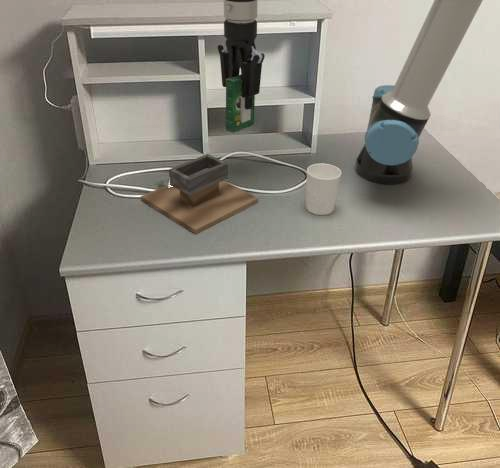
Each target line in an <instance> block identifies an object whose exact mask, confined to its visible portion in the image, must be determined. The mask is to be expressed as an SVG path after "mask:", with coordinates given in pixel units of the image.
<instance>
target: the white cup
mask: <svg viewBox="0 0 500 468" xmlns="http://www.w3.org/2000/svg"><path fill="white" fill-rule="evenodd" d="M341 179H342V170H341V169H340V168H339V167H337V166H336V165H334V164H328V163H313V164H311V165H309V166H308V167H307V168H306V184H305V186H306V187H305V197H306V198H305V200H306V201H305V208H306V211H308V212H309V213H311V214H314V215H317V216H326V215H330V214H332V213H333V211H335V205H336V202H337V197H338V193H339V187H340V182H341Z"/></svg>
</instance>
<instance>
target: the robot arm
mask: <svg viewBox="0 0 500 468" xmlns="http://www.w3.org/2000/svg"><path fill="white" fill-rule="evenodd" d="M482 3H483V0H433V3H432V5H431V7H430V9H429V11H428V13H427V15H426V17H425V20H424V22H423V23H422V26H421V28H420V31H419V32H418V34H417V37H416V39H415V41H414V43H413V45H412V47H411V49H410V52H409V53H408V56H407V57H406V58H407V59H406V60H405V63H404V65H403V66H402V70H401V71H400V73H399V76H398V78H397V79H396V82H395V84H394V85H392V84H391V85H389V84H388V85H387V84H386V85H380V86H377V87H376V88H375V89H374V91H373V96H372V97H371V98H372V103H371V109H370V114H369V119H368V124H367V128H366V132H365V135H364V144H363V147H362V148H361V149H360V152H359V154H358V155H357V157H356V160H355V164H354V165H355V166H354V168H355V172H356V174H358V175H359V176H360V177H362V178H363V179H365V180H368V181H371V182H374V183H376V184H377V183H378V184H384V185H396V184H401V183H405V182H407V181H408V180H410V179H411V177H412V174H413V168H414V167H413V166H414V165H413V159H412V158H413V156H414V155H415V154H416V152H417V150H418V147H419V142H420V136H421V134H422V132H423V130H424V129H425V127H426V125H427V123H428V121H429V119H430V117H431V112H430V109H429V105H430V103H431V100H432V99H433V97H434V95H435V93H436V91H437V89H438V87H439V85H440V83H441V81H442V80H443V78H444V76H445V73H446V72H447V70H448V69H449V66H450V64H451V62H452V60H453V58H454V57H455V55H456V52H457V51H458V49H459V47H460V45H461V43H462V41H463V39H464V37H465V35H466V33H467V32H468V30H469V27H470V26H471V23H472V22H473V20H474V18H475V16H476V14H477V13H478V11H479V8H480V7H481V5H482ZM223 17H224V19H225V20H224V21H223V36H224V38H225V39H226V40H225V43H222V44H218V45H217V50H218V54H219V60H220V61H219V62H220V72H221V86H222V87H223V88H226V79H227V78H231V77H234V76H238V75H241V76H242V86H243V95H241V122H246V121H248V120H251V108H252V97H253V95H255V96H256V95H258V94H260V92H261V91H260V89H261V79H262V68H263V62H264V60H265V54H264V53H261V52H259V51H257V46H256V43H255V40H256V38H257V36H258V21H257V20H256V19H257V18H258V0H223ZM248 90H249V91H248Z"/></svg>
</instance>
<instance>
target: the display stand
mask: <svg viewBox="0 0 500 468" xmlns="http://www.w3.org/2000/svg"><path fill="white" fill-rule="evenodd" d="M228 169H229V163H228V162H226V161H223V160H221V159H219V158H217V157H215V156H213V155H211V154H210V153H207V154H204V155H201V156H200V157H199V156H198V157H197V158H194V159H192V160H189V161H187V162H183V163H182V164H178V165H177V166H173V167H171V168H169V169H168V175H169V184H170V185H171V186H173V187H170V188H168V185H169V184H167V185H164V186H162V187H159V188H157V189H154V190H153V191H150V192H148V193H145V194H143V195H141V196H140V201H141V202H143V203H144V204H146V205H148V206H150V207H151V208H153V209H154V210H156V211H157V212H159V213H161V214H163V215H164V216H165V217H167V218H169V219H170V220H172V221H174V223H175V222H176V223H177V224H178V225H180V226H182V227H184V228H185V229H186V230H188V231H189V232H191V233H192V234H195V235H198V234H199V233H201V232H203V231H205V230H208V229H209V228H210V227H213V226H215V225H217V224H220V223H221V222H223V221H224V220H227V219H228V218H230V217H232V216H234V215H236V214H238V213H241V212H242V211H245V210H246V209H248V208H250V207H253V206H254V205H256V204H258V203H259V198H258V197H257V196H255V195H253V194H251V193H249V192H247V191H245V190H243V189H241V188H239V187H237V186H235V185H233V184H232V183H229V182H228V181H225V180H227V179H228V178H229V177H228V174H229V170H228Z"/></svg>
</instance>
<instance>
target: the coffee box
mask: <svg viewBox="0 0 500 468" xmlns="http://www.w3.org/2000/svg"><path fill="white" fill-rule="evenodd" d="M248 91H249V90H248ZM241 95H243V86H242V76H241V74H239V75H238V76H234V77H231V78H227V79H226V87H225V131H226V132H229V133H232V134H233V133H236V132H240V130H243V129H246V128H250V127H251V126H254V125H255V106H256V105H255V102H256V101H255V99H256V97H255V96H256V95H253V97H252V108H251V120H248V121H246V122H241Z"/></svg>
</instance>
